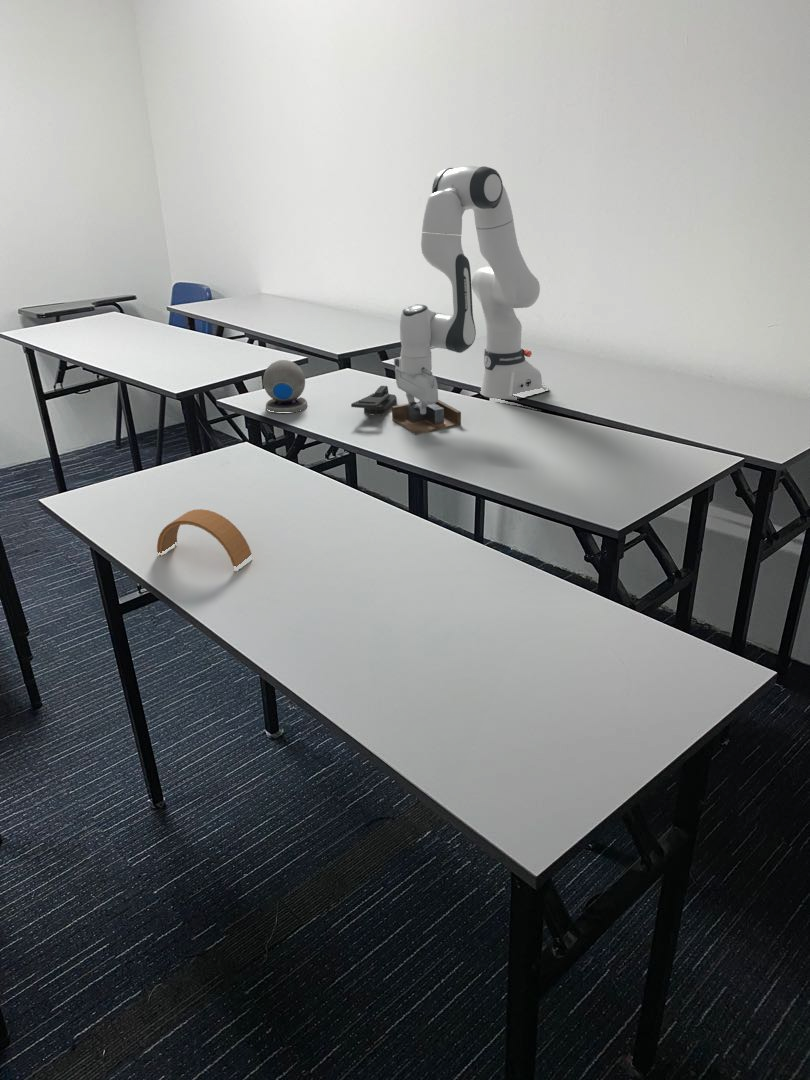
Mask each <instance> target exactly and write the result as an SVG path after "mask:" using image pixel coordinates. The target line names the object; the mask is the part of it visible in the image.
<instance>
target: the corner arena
mask: <svg viewBox="0 0 810 1080" xmlns="http://www.w3.org/2000/svg"><path fill="white" fill-rule="evenodd" d="M415 402H416V404H419V403H420V400H419V401H415ZM435 404H437V405H439V406H440V407H442V408H444V423H443V424H438V425H434V424H432V423H431V422H429V421H427V420H426V421H421V422H415V423H411V422H409V421H408V420H407V406H408V405H409V402H408V403H404V404H403V403H402V404H398V405H395V406H392V408H391V413H392V416H391V419H392V421H394V422H395V423H397V424H399V425H400V426H401V427H403V428H404V429H406V430H408V431H409V432H410V433H412V434H413V435H420V434H425V433H429V432H435V431H439V430H446V429H450V428H455V427H460V426H462V412H461V411H460V410H458V409H457V408H455V407H453V406H451V405H449V404H448V403H446V402H443V401H442V400H440V399H438V401H437V403H435Z"/></svg>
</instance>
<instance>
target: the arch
mask: <svg viewBox="0 0 810 1080" xmlns="http://www.w3.org/2000/svg"><path fill="white" fill-rule="evenodd" d="M183 525H189V526H194V527H197V528H199V529H202V530H203V531H206V532H207V533H208V534H210V535H211V536H212V537H213V538H215V540H217V541H218V542H219V544H220V545H221V546H222V547H223V548H224V550H225V551H226V554H227V555H228V557H229V559H230V561H231V564H232V567H233V566H236V567H237V566H238V565H239V564H241V563H242V562H243V561H244V560H245V559H247V558H248V557H249V556H250V555H251V554H252V551H251V548H250V546H249V543H248V542H247V540H246V538H245V536H244V535H243V534H242V532H241V531H240V530H239V529H238V527H237V526H236V525H234V523H232V521H230V520H229V519H227V518H226V517H225V516H223V515H221V514H219V513H217V512H215V511H212V510H209V509H203V508H201V509H193V510H189V511H187V512H185V513H183V514H182V515H180V516H179V517H177V518H176V519H174V520H173V521H172V522H170V523H169V524H167V525H166V526H165V527H163V529H162V530H161V531H160V533H159V535H158V538H157V544H156V545H157V546H156V553H157V552H158V553H159V552H160V553H162V551H165V550H166V549H168V548H169V547H171V546H172V545H173V544H175V542H177V543H178V531H179V529H180V526H183Z"/></svg>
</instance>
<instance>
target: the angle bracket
mask: <svg viewBox="0 0 810 1080" xmlns="http://www.w3.org/2000/svg"><path fill="white" fill-rule="evenodd" d="M420 404H421V403H419V404H413V405H408V406H407V420H408V421H409V422H411V423H415V422H421V421H426V420H427V421H429V422H431V423H432V424H434V425H438V424H443V423H444V408H442V407H440V406H439V405H437V404H435V403H433V404H428V405H427V408H426V414H420V413H419V407H420Z"/></svg>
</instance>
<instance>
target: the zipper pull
mask: <svg viewBox="0 0 810 1080" xmlns="http://www.w3.org/2000/svg"><path fill="white" fill-rule="evenodd" d="M388 387H389V386H387V385H380V386H379V387H378V388H377V389H376V390H375V392H372V393H371V394H369V395H368V396H366V397H363V398H361V399H359V400H357V401H354V402H352V403H351V404H350V405H351V406H350V407H351V408H358V409H363V413H364V414H366V413H367V414H366V415H369V414H374V415H373V416H380V415H381V416H382V415H386V414H387V413H388V412H389V411H391V410H392V406H397V404H398V403H397V402H398V401H397V400H398V399H397V396H396V394H391V393H389V388H388Z"/></svg>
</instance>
